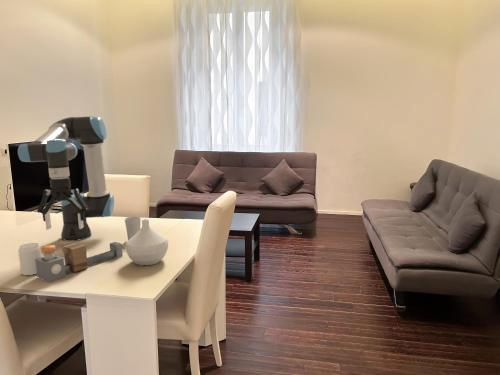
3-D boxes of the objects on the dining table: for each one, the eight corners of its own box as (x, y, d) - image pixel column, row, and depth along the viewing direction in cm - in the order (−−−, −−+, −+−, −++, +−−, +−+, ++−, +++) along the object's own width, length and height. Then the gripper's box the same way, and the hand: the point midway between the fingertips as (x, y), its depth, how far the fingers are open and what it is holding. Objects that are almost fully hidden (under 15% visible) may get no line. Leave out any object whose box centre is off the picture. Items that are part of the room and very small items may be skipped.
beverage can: (26, 269, 177) (23, 243, 175) (46, 268, 178) (43, 242, 176) (17, 277, 169) (14, 249, 167) (38, 275, 170) (34, 248, 168)
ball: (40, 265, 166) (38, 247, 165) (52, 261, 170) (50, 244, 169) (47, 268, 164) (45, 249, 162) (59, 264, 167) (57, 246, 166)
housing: (37, 277, 168) (35, 259, 166) (54, 272, 173) (52, 254, 172) (49, 282, 162) (46, 263, 161) (66, 277, 168) (64, 258, 166)
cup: (137, 243, 211) (136, 220, 209) (123, 242, 213) (121, 220, 211) (144, 238, 219) (143, 216, 217) (130, 238, 220) (129, 216, 218)
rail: (56, 273, 172) (55, 259, 171) (116, 254, 195) (115, 241, 194) (63, 275, 169) (61, 261, 168) (122, 255, 192) (121, 243, 191)
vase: (147, 272, 171) (144, 227, 167) (117, 264, 180) (114, 222, 177) (177, 258, 186) (175, 217, 183) (148, 252, 196) (145, 213, 192)
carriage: (65, 268, 176) (63, 246, 175) (78, 264, 181) (76, 242, 179) (74, 272, 172) (72, 249, 170) (87, 267, 177) (85, 245, 175)
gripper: (24, 179, 164) (30, 231, 167) (86, 178, 163) (91, 230, 167) (34, 177, 171) (39, 226, 175) (93, 175, 170) (98, 225, 174)
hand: (65, 228), depth 171 cm, fingers open, 13 cm apart
